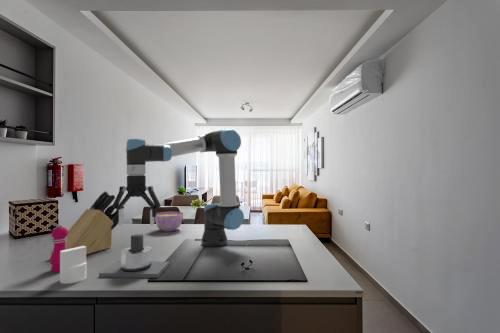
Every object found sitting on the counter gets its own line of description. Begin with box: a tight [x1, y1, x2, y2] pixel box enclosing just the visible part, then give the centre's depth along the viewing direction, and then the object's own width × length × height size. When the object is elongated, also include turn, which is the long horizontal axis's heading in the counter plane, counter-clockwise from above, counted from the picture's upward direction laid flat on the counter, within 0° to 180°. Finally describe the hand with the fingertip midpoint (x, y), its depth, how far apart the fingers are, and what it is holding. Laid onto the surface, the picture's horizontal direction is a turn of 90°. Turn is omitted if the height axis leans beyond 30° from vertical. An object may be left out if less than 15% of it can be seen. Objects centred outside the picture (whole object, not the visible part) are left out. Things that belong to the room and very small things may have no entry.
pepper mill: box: [49, 223, 69, 273], centre depth 124 cm, size 7×7×20 cm
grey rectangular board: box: [98, 260, 171, 279], centre depth 122 cm, size 24×15×2 cm, turn 87°
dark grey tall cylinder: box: [130, 233, 144, 252], centre depth 122 cm, size 5×5×12 cm
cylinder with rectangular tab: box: [59, 246, 88, 285], centre depth 113 cm, size 9×9×12 cm
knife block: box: [50, 190, 125, 256], centre depth 152 cm, size 11×35×31 cm, turn 155°
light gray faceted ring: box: [120, 245, 153, 272], centre depth 122 cm, size 12×12×8 cm
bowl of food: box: [154, 211, 184, 233], centre depth 201 cm, size 20×20×12 cm
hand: (136, 224), depth 122 cm, fingers open, 13 cm apart
